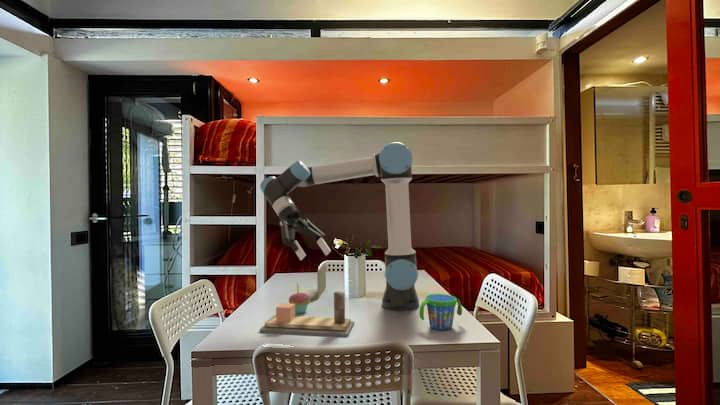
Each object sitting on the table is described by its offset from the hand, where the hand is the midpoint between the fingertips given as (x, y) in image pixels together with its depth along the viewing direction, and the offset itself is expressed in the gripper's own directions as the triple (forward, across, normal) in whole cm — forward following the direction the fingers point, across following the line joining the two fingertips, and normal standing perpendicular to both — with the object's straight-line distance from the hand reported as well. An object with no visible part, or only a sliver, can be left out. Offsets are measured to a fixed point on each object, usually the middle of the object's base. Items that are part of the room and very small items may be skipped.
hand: (316, 255), depth 132 cm
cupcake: (+7, -8, -28) cm, 30 cm away
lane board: (+18, +5, -16) cm, 25 cm away
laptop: (-3, -30, -38) cm, 49 cm away
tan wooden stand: (+17, +5, -16) cm, 24 cm away
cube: (+11, +8, -20) cm, 24 cm away
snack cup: (+44, -21, +11) cm, 50 cm away
